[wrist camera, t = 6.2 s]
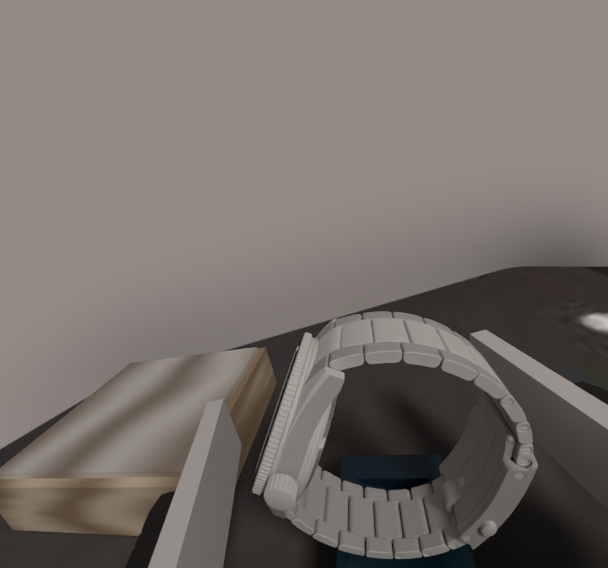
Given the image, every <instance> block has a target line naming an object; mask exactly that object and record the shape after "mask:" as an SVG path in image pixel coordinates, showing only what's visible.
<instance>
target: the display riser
mask: <svg viewBox="0 0 608 568" xmlns="http://www.w3.org/2000/svg"><path fill="white" fill-rule="evenodd" d="M276 383H277V382H276V378H275V375H274V372H273V369H272V366H271V363H270V360H269V356H268V353H267V350H266V347H265V348H257V347H254V348H247V349H239V350H231V351H223V352H215V353H207V354H200V355H192V356H184V357H176V358H168V359H161V360H153V361H145V362H138V363H131V364H129V365H128V366H127V367H126V368H124V369H123V370H122V371H120V372H119V373H118V374H117V375H115V376H114V377H113V378H112V379H110V380H109V381H108V382H107V383H105V384H104V385H103V386H102V387H100V388H99V389H98V390H97V391H96V392H94V393H93V394H92V395H91V396H89V397H88V398H87V399H86V400H84V401H83V402H82V403H81V404H79V405H78V406H77V407H76V408H74V409H73V410H72V411H71V412H69V413H68V414H67V415H66V416H64V417H63V418H62V419H61V420H59V421H58V422H57V423H56V424H54V425H53V426H52V427H51V428H49V429H48V430H47V431H46V432H44V433H43V434H42V435H41V436H39V437H38V438H37V439H36V440H34V441H33V442H32V443H31V444H29V445H28V446H27V447H26V448H25V449H23V450H22V451H21V452H20V453H18V454H17V455H16V456H15V457H13V458H12V459H11V460H10V461H8V462H7V463H6V464H5V465H3V466H2V467H1V468H0V514H1V515H2V517H3V518H4V519H5V520H6V522H7V523H8V524H9V525H10V527H11V528H12V529H13V530H23V531H45V532H66V533H87V534H108V535H130V536H139V535H140V533H142V528H143V525H144V523H145V520H146V518H147V516H148V513H149V511H150V510H151V508H152V507H153V506H154V504H155V503H156V501H157V500H158V499H159V497H160V496H161V494H165V493H168V492H172V491H176V488H177V485H178V483H179V480H180V477H181V474H182V471H183V469H184V466H185V463H186V460H187V458H188V455H189V452H190V449H191V446H192V444H193V441H194V438H195V435H196V432H197V430H198V427H199V424H200V421H201V418H202V416H203V413H204V410H205V407H206V404H207V403H208V402H212V401H216V400H220V399H224V401H225V403H226V406H227V409H228V411H229V414H230V416H231V419H232V421H233V424H234V427H235V429H236V432H237V434H238V437H239V439H240V442H241V445H242V447H241V453H240V460H239V466H238V473H237V479H236V484H237V481H238V479H239V476H240V474H241V471H242V469H243V466H244V464H245V461H246V459H247V456H248V454H249V451H250V449H251V446H252V444H253V441H254V439H255V436H256V433H257V431H258V428H259V426H260V423H261V421H262V418H263V416H264V413H265V411H266V408H267V406H268V403H269V401H270V398H271V396H272V393H273V390H274V388H275V385H276ZM235 487H236V486H235Z"/></svg>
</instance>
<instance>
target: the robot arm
mask: <svg viewBox="0 0 608 568" xmlns="http://www.w3.org/2000/svg"><path fill="white" fill-rule="evenodd" d="M470 343H471V344H472V345H473V346H474V347H475V349H476V350H478V351H479V352H480V353H481V354H482V356H483V357H484V358H485V360H486V361H487V362H488V364H489V365H490V367H491V368H492V369H493V371H494V372H495V373H496V375H497V376H498V377H499V379H500V380H501V382H502V383H503V384H504V386H505V387H506V388H507V390H508V391H509V392H510V394H511V395H512V396H513V398H514V399H515V400H516V402H517V403H518V404H519V406H520V407H521V409H522V410H523V412H524V414H525V416H526V420H527V422H528V423H529V425H530V428H531V431H532V438H533V440H534V441H535V442H536V443H537V444H539V445H540V446H541V447H542V448H543V449H544V450H545V451H546V452H547V453H548V454H549V455H550V456H551V457H552V458H554V459H555V460H556V461H557V462H558V463H559V464H560V465H561V466H562V467H563V468H564V469H565V470H566V471H567V472H569V473H570V474H571V475H572V476H573V477H574V478H575V479H576V480H577V481H578V482H579V483H580V484H581V485H582V486H583V487H585V488H586V489H587V490H588V491H589V492H590V493H591V494H592V495H593V496H594V497H595V498H596V499H597V500H598V501H600V502H601V503H602V504H603V505H604V506H605V507H606V508H607V509H608V391H606V390H605V389H602V388H599V387H597V386H594V385H591V384H588V383H585V382H583V381H582V382H579V383H575V384H573V383H571V382H570V381H568V380H566V379H565V378H563V377H562V376H560V375H558V374H557V373H555V372H553V371H552V370H550V369H549V368H547V367H545V366H544V365H542V364H540V363H539V362H537V361H536V360H534V359H532V358H531V357H529V356H528V355H526V354H524V353H523V352H521V351H519V350H518V349H516V348H515V347H513V346H511V345H510V344H508V343H506V342H505V341H503V340H502V339H500V338H498V337H497V336H495V335H494V334H492V333H490V332H489V331H487V330H483V331H479V332H475V333H472V334H470ZM473 383H474V382H473ZM474 385H475V384H474ZM475 386H476V385H475ZM476 387H478V386H476ZM478 388H479V389H480V390H481V391H484V390H483V389H481V388H480V387H478ZM241 447H242V445H241V442H240V439H239V437H238V434H237V432H236V429H235V427H234V424H233V421H232V419H231V416H230V414H229V411H228V409H227V406H226V403H225V401H224V399H220V400H216V401H212V402H208V403H207V404H206V407H205V410H204V413H203V416H202V418H201V421H200V424H199V427H198V430H197V432H196V435H195V438H194V441H193V444H192V446H191V449H190V452H189V455H188V458H187V460H186V463H185V466H184V469H183V471H182V474H181V477H180V480H179V483H178V485H177V488H176V491H172V492H168V493H165V494H161V496H160V497H159V499H158V500H157V501H156V503H155V504H154V506H153V507H152V508H151V510H150V511H149V513H148V516H147V518H146V520H145V523H144V525H143V528H142V533H140V535H139V537H138V539H137V542H136V544H135V549H134V550H133V551H132V554H131V556H130V559H129V561H128V563H127V566H126V568H223V564H224V558H225V551H226V545H227V538H228V532H229V525H230V519H231V512H232V506H233V499H234V492H235V486H236V479H237V473H238V466H239V460H240V453H241Z"/></svg>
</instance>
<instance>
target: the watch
mask: <svg viewBox="0 0 608 568" xmlns="http://www.w3.org/2000/svg"><path fill="white" fill-rule="evenodd" d="M362 318H363V320H362ZM372 329H373V334H372ZM373 337H374V343H373ZM364 355H365V359H366V361H367V362H368V363H369V364H378V363H396V362H399V361H400V360H401V358H402V356H403V360H404V362H406V363H408V364H416V365H422V366H427V367H437V366H438V365H440V367H441V369H442V370H443V371H445V372H448V373H451V374H453V375H456V376H458V377H460V378H463V379H465V380H473V382H474V384H475V385H476V386H478V387H480V388H481V389H483V390H484V391H481V392H480V394H479V405H478V406H475V407H474V408H473V410H472V413H471V416H470V419H469V421H468V424H467V426H466V428H465V431H464V433H463V435H462V436H461V438H460V440H459V441H458V443H457V445H456V446H455V447H454V449H453V450H452V451H451V453H450V454H449V455H448V456H447V458H446V459H445V460H444V461H442V458H441V455H440V454H421V455H386V456H352V457H342V459H341V479H340V478H338V477H336V476H334V475H332V474H331V473H329V472H327V471H322V469H321V467H320V466H319V465H318V463H319V460H320V457H321V454H322V451H323V448H324V445H325V442H326V438H327V435H328V432H329V428H330V424H331V420H332V417H333V412H334V408H335V404H336V399H337V394H338V393H339V392H340V390H341V388H342V385H343V382H344V373H343V372H341V370H344V369H347V368H351V367H356V366H360V365H362V364H363V363H364ZM532 441H533V438H532V431H531V428H530V425H529V423H528V422H527V420H526V416H525V414H524V412H523V410H522V409H521V407H520V406H519V404H518V403H517V402H516V400H515V399H514V398H513V396H512V395H511V394H510V392H509V391H508V390H507V388H506V387H505V386H504V384H503V383H502V382H501V380H500V379H499V377H498V376H497V375H496V373H495V372H494V371H493V369H492V368H491V367H490V365H489V364H488V362H487V361H486V360H485V358H484V357H483V356H482V354H481V353H480V352H479V351H478V350H476V349H475V347H474V346H473V345H472V344H471V343H470V342H469V341H467V340H466V339H465V338H463V337H462V336H461V335H459V334H458V333H456V332H453V331H451V330H450V329H449V328H448V327H446V326H444V325H442V324H440V323H437V322H435V321H432V320H430V319H427V318H424V319H422V318H421V317H420V316H416V315H412V314H407V313H400V312H393V313H392V314H391V312H368V313H363V315H362V316H361V315H360V314H356V315H351V316H347V317H343V318H340V319H333V320H332V321H331V322H330V323H329V324H327V325H326V326H325V327H324V328H323V330H322V331H321V332H320V333H319V334H318V335H317V337H316V338H312V334H310V333H307V332H305V334H304V335H303V337H302V338H301V340H300V342H299V344H298V346H297V348H296V351H295V353H294V356H293V359H292V362H291V365H290V368H289V370H288V373H287V376H286V379H285V382H284V385H283V388H282V391H281V394H280V397H279V400H278V403H277V405H276V408H275V411H274V414H273V417H272V420H271V423H270V426H269V429H268V432H267V435H266V438H265V441H264V444H263V447H262V450H261V453H260V456H259V460H258V463H257V466H256V470H255V476H254V481H253V486H252V493H255V494H257V495H261V493H262V492H264V498H265V502H267V504H268V506H269V508H270V510H271V511H272V513H273V514H274V515H276V516H278V517H281V518H284V519H285V518H288V519H289V520H291V522H292V523H293V524H294V525H295V526H296V527H298V528H299V529H301V530H302V531H304V532H305V533H307V534H309V535H312V534H313V538H314V539H316V540H318V541H320V542H322V543H325V544H327V545H329V546H332V547H337V561H336V568H476V567H475V563H474V560H473V557H472V554H471V551H470V547H469V545H471V548H472V549H473V550H474V549H475V548H477V547H478V546H479V545H480V544H482V543H483V542H484V541H485V540H486V539H487V538H489V537H490V536H492V535H494V534H495V533H496V532H497V529H498V528H499V527H500V526H501V525H502V524H503V523H504V522H505V521H506V519H507V518H508V517H509V516H510V515H511V513H512V512H513V511H514V509H515V508H516V506H517V505H518V504H519V502H520V500H521V499H522V497H523V496H524V494H525V492H526V490H527V489H528V487H529V485H530V483H531V481H532V479H533V477H534V474H535V472H536V470H537V467H538V464H537V461H536V459H535V456H534V454H533V445H532V444H531V443H532ZM321 471H322V472H321Z"/></svg>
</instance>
